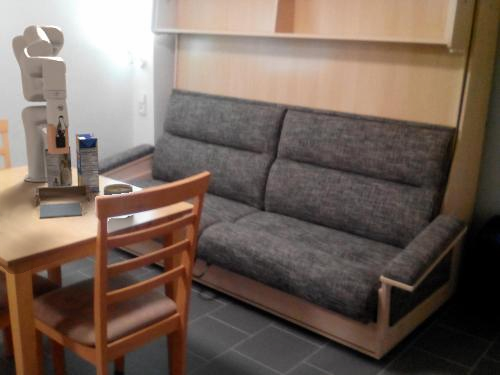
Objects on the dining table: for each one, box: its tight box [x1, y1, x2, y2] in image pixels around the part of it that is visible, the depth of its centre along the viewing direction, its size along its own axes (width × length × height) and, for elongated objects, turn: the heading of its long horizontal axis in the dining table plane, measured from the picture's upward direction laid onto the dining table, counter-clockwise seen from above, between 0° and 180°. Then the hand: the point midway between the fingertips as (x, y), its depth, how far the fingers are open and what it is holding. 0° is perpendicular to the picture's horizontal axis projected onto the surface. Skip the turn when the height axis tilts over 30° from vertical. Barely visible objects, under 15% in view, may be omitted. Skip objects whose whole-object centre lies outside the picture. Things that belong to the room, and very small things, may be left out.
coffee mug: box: [103, 183, 134, 196], centre depth 191 cm, size 13×10×10 cm
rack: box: [34, 185, 91, 206], centre depth 206 cm, size 10×19×4 cm, turn 109°
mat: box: [39, 201, 83, 219], centre depth 194 cm, size 14×14×1 cm
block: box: [45, 124, 70, 155], centre depth 191 cm, size 6×5×10 cm
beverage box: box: [75, 133, 100, 194], centre depth 218 cm, size 7×11×22 cm, turn 25°
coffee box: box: [45, 145, 73, 187], centre depth 223 cm, size 9×6×16 cm
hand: (58, 145), depth 192 cm, fingers closed on block, 5 cm apart
